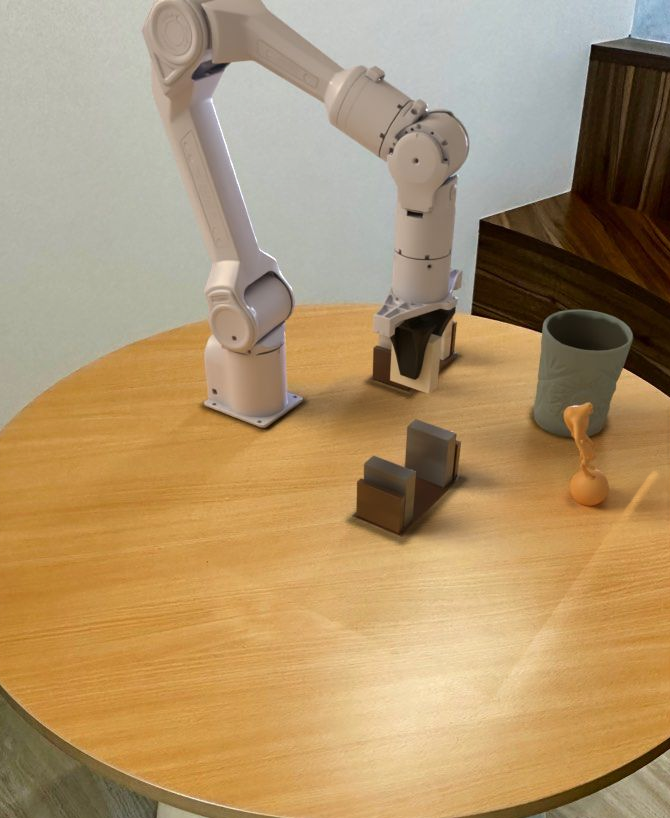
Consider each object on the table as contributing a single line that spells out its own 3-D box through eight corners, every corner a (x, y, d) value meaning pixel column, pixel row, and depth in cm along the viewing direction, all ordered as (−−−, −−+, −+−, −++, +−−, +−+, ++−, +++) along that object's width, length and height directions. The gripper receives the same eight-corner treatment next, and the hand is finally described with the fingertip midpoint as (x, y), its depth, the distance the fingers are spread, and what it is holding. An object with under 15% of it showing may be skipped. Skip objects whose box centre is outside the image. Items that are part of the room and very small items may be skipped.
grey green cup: (558, 389, 113) (574, 301, 105) (628, 419, 107) (650, 329, 100) (511, 419, 107) (525, 328, 99) (582, 453, 102) (602, 359, 94)
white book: (389, 380, 97) (392, 330, 93) (398, 373, 98) (401, 324, 95) (429, 394, 95) (433, 343, 91) (437, 387, 96) (441, 336, 92)
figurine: (607, 528, 91) (631, 429, 84) (548, 521, 92) (567, 423, 84) (602, 481, 97) (625, 385, 90) (547, 476, 98) (565, 380, 90)
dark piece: (368, 382, 113) (369, 335, 109) (418, 344, 122) (421, 299, 118) (408, 396, 111) (411, 348, 107) (457, 356, 119) (461, 310, 115)
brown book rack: (351, 520, 91) (352, 468, 87) (414, 462, 100) (417, 412, 96) (401, 541, 89) (404, 488, 85) (461, 480, 97) (466, 429, 93)
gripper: (420, 283, 81) (411, 411, 89) (493, 235, 90) (478, 356, 99) (356, 265, 84) (354, 391, 92) (433, 220, 93) (424, 338, 102)
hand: (414, 371), depth 96 cm, fingers closed on white book, 2 cm apart
